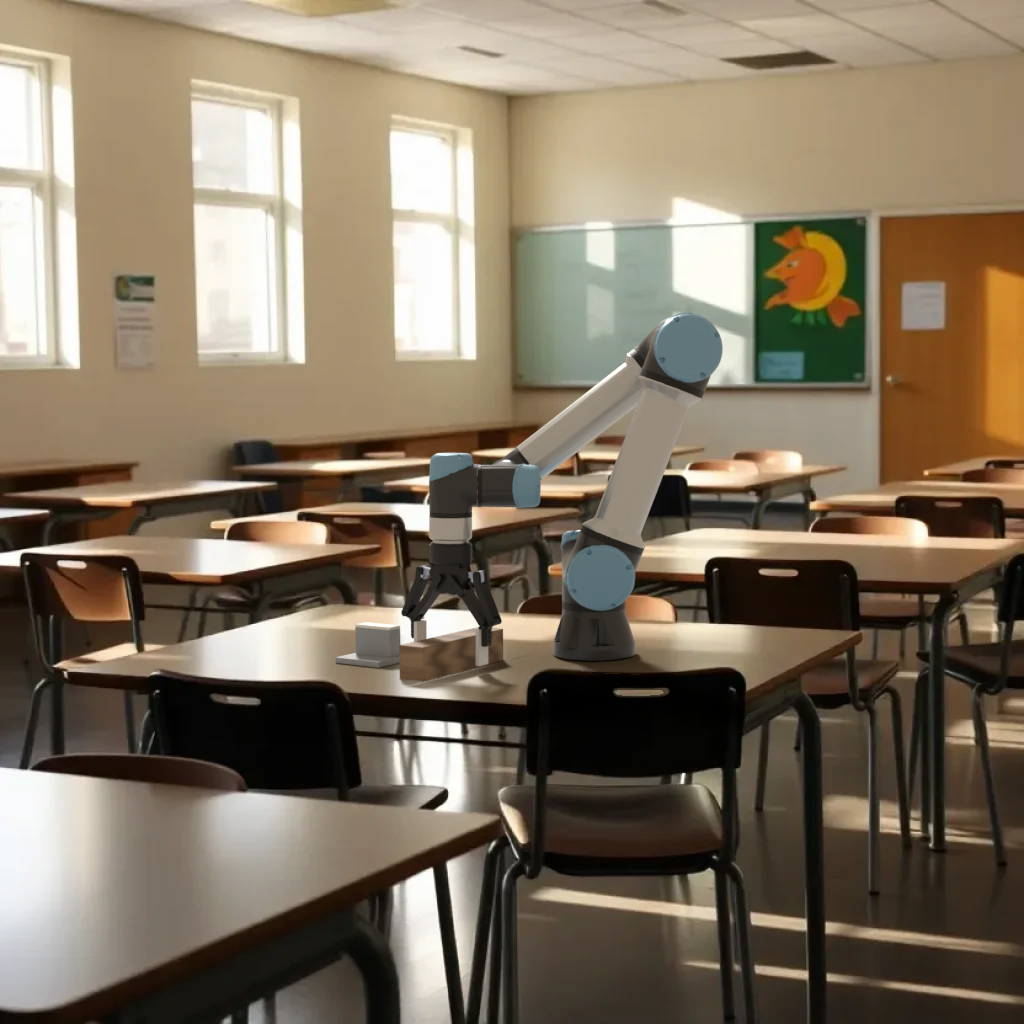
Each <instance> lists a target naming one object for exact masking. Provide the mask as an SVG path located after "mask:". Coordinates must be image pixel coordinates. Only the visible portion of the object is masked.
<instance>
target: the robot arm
mask: <svg viewBox="0 0 1024 1024" xmlns="http://www.w3.org/2000/svg"><path fill="white" fill-rule="evenodd" d="M722 357H723V341H722V337H721V334H720V332H719V330H718V329H717V328H716V326H715V325H714V324H713V322H711V321H710V320H709V319H707V318H706V317H703V316H702V315H700V314H695V313H692V312H680V313H677V314H673V315H671V316H669V317H667V318H664V319H662V320H661V321H660V322H658V324H656V325H655V327H654V328H652V330H651V331H650V332H649V333H648V334H647V335H646V336H645V337H644V338H643V339H642V340H641V341H640V342H639V343H638V344H637V345H636V346H635V347H633V348H632V349H631V350H630V351H629V352H627V353H626V354H625V361H624V362H623V363H622V364H621V365H620V366H618V367H617V368H615V369H614V370H613V371H611V372H610V374H608V375H607V376H605V377H604V378H603V379H602V380H600V381H599V382H598V383H597V384H595V385H594V386H593V387H591V388H590V389H589V390H588V391H587V392H585V393H584V394H583V395H581V396H580V397H579V398H577V399H576V400H575V401H573V403H571V404H570V405H569V406H567V407H566V408H565V409H564V410H562V411H561V412H559V413H558V414H557V415H555V416H554V417H553V418H552V419H551V420H550V421H548V422H547V423H546V424H544V425H543V426H542V427H541V428H539V429H538V430H537V431H535V432H534V433H533V434H531V435H529V437H527V438H526V439H525V440H524V441H523V442H521V443H520V444H518V445H517V446H516V448H514V449H513V450H511V451H510V452H509V453H508V454H506V455H504V457H502V458H501V459H498V460H497V461H495V462H494V463H492V464H477V463H474V460H473V456H472V454H471V453H466V452H438V453H437V452H436V453H435V454H433V455H432V456H430V460H429V474H428V475H429V476H428V477H429V478H428V490H429V491H428V494H429V496H428V498H429V500H428V501H429V503H428V504H429V505H428V506H429V507H428V508H429V519H428V520H429V521H428V522H429V524H428V526H429V527H428V538H429V539H430V540H432V541H431V542H430V543H429V547H428V549H429V554H428V555H429V556H428V557H429V558H428V559H429V560H428V561H429V562H430V564H431V565H430V566H429V565H428V564H427V565H425V564H424V565H420V566H419V565H418V566H416V568H415V573H414V574H415V576H414V580H413V583H412V585H411V587H410V590H409V592H408V595H407V597H406V599H405V602H404V605H403V607H402V609H401V616H402V617H405V618H408V619H409V620H410V637H411V639H413V642H415V641H420V640H424V639H428V637H427V635H428V634H427V619H425V616H426V614H427V613H428V611H429V610H430V608H431V607H432V605H433V604H434V603H435V602H436V601H437V599H438V597H439V596H440V594H441V595H444V594H449V595H451V596H456V595H457V596H458V597H459V598H460V599H461V600H462V601H463V603H464V604H465V606H466V608H467V609H468V611H469V612H470V613H471V615H472V617H473V618H474V621H476V623H477V625H478V628H477V627H475V628H476V666H479V667H482V665H483V666H486V665H489V664H488V646H491V643H492V638H491V637H492V628H494V626H497V625H501V624H502V618H501V614H500V613H499V609H498V607H497V604H496V603H495V600H494V597H493V594H492V592H491V589H490V587H489V583H488V579H487V576H488V575H487V571H486V570H484V569H483V570H476V571H472V569H471V568H472V567H471V564H472V562H473V543H472V542H471V541H470V540H471V539H472V538H473V508H516V509H517V508H518V509H524V508H536V507H538V506H539V505H540V503H541V490H542V489H541V488H542V487H541V483H542V482H541V481H542V480H543V479H544V478H545V477H547V476H549V474H551V473H552V472H553V471H554V470H556V469H557V468H559V467H560V466H561V465H562V464H564V463H565V462H566V461H567V460H569V459H570V458H572V457H573V456H574V455H575V454H577V453H578V452H579V451H580V450H582V449H583V448H584V447H585V446H587V445H588V444H589V443H591V442H592V441H594V440H595V439H596V438H598V436H600V435H601V434H603V433H604V432H605V431H607V429H609V428H611V426H613V425H614V424H615V423H616V422H618V421H619V420H621V419H622V418H623V417H624V416H626V415H628V413H630V412H631V411H632V410H633V409H635V410H634V413H633V415H632V419H631V421H630V424H629V426H628V428H627V431H626V434H625V436H624V439H623V442H622V445H621V447H620V450H619V453H618V456H617V458H616V460H615V463H614V466H613V468H612V471H611V474H610V477H609V479H608V482H607V484H606V487H605V489H604V492H603V495H602V497H601V499H600V501H599V506H598V508H597V510H596V514H595V515H594V516H593V518H591V519H588V520H586V521H584V522H583V523H582V525H581V528H580V529H577V530H567V531H565V532H563V534H562V536H561V544H560V551H561V596H562V597H561V599H562V600H561V601H562V602H561V603H562V604H561V605H562V608H561V609H562V610H561V611H562V612H561V617H560V620H559V623H558V626H557V629H556V632H555V633H556V634H555V635H554V640H553V645H552V647H553V648H552V649H553V651H552V652H553V656H554V657H556V658H561V659H565V660H573V661H574V660H575V661H593V662H594V661H612V660H621V659H628V658H631V657H634V656H635V655H636V641H635V639H634V635H633V631H632V629H631V625H630V622H629V619H628V617H627V612H626V610H627V609H626V600H627V599H628V598H629V597H630V595H631V594H632V592H633V590H634V587H635V581H636V571H637V569H638V566H639V564H640V561H641V559H642V556H643V554H644V550H645V548H646V545H645V543H644V541H643V538H642V535H641V534H642V532H643V530H644V529H643V528H644V526H645V525H646V524H645V523H646V521H647V518H648V516H649V513H650V510H651V508H652V505H653V503H654V500H655V498H656V495H657V493H658V490H659V487H660V485H661V482H662V479H663V476H664V475H665V472H666V468H667V466H668V463H669V462H670V458H671V456H672V453H673V451H674V448H675V445H676V443H677V441H678V437H679V435H680V433H681V430H682V428H683V425H684V423H685V422H684V421H685V419H686V418H687V415H688V411H689V409H690V407H692V406H693V405H695V404H697V403H699V402H701V401H702V399H703V396H704V393H705V392H706V389H707V387H708V384H709V381H710V379H711V376H712V375H713V373H714V372H715V371H716V370H717V369H718V367H719V365H720V364H721V361H722ZM429 579H431V580H432V581H431V582H430V585H429V586H428V585H427V584H428V582H429ZM471 583H472V584H471ZM472 585H473V586H472ZM427 586H428V587H427ZM426 587H427V589H426ZM425 589H426V592H425V593H424V591H425ZM475 593H476V594H475ZM423 594H424V595H423Z"/></svg>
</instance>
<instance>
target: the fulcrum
mask: <svg viewBox="0 0 1024 1024" xmlns="http://www.w3.org/2000/svg"><path fill="white" fill-rule="evenodd" d="M354 626H355V627H354V628H355V652H354V653H349V654H345V655H339V656H335V663H336V664H344V665H350V666H351V665H352V666H360V667H369V668H370V667H371V668H378V669H379V668H383V667H387V666H391V665H395V664H399V645H401V625H399V624H388V623H377V622H368V621H367V622H366V621H365V622H361V623H356V624H355V625H354Z"/></svg>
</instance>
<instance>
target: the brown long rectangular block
mask: <svg viewBox="0 0 1024 1024" xmlns="http://www.w3.org/2000/svg"><path fill="white" fill-rule="evenodd" d="M478 627H479V626H478ZM478 627H473V628H469V629H464V630H461V631H455V632H451V633H447V634H443V635H438V636H434V637H429V638H428V637H427V639H424V640H420V641H415V642H414V641H412V642H408V643H403V644H402V643H401V644H400V645H399V663H398V664H399V679H400V680H401V679H402V680H404V679H405V680H412V681H413V680H414V681H420V682H424V681H428V680H429V681H430V680H431V679H433V680H434V679H435V678H438V679H439V678H440V677H443V676H447V675H450V676H451V675H453V674H454V675H455V674H457V673H458V674H459V673H461V672H465V671H471V670H472V669H473V670H475V669H476V668H477V669H478V668H480V666H476V628H478ZM491 638H492V643H491V646H488V664H486V665H485V666H488V665H489V666H491V665H492V664H495V663H499V662H503V661H504V628H500V627H499V628H497V627H492V637H491ZM482 667H484V665H482V666H481V668H482Z"/></svg>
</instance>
